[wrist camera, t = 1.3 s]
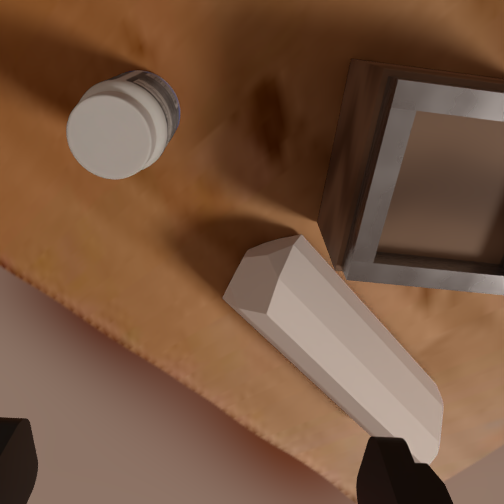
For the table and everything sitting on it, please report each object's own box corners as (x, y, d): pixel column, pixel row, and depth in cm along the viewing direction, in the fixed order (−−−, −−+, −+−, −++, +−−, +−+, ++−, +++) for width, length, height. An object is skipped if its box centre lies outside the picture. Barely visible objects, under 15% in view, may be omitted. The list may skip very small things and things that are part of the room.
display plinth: (351, 58, 27) (393, 71, 19) (521, 81, 27) (627, 102, 20) (317, 222, 32) (340, 283, 24) (462, 237, 32) (528, 302, 25)
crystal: (484, 416, 36) (309, 214, 27) (435, 489, 35) (234, 301, 26) (418, 382, 43) (260, 211, 34) (374, 442, 41) (199, 280, 33)
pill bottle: (112, 146, 29) (66, 188, 21) (101, 69, 27) (45, 85, 19) (184, 146, 29) (163, 187, 21) (178, 69, 27) (153, 85, 19)
